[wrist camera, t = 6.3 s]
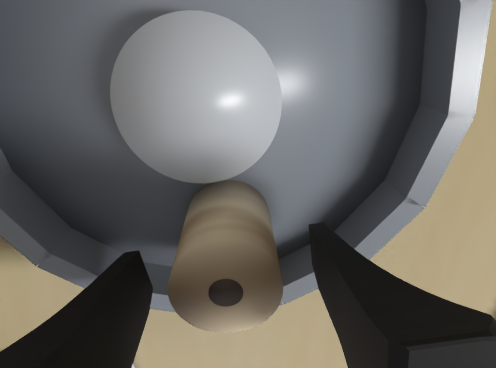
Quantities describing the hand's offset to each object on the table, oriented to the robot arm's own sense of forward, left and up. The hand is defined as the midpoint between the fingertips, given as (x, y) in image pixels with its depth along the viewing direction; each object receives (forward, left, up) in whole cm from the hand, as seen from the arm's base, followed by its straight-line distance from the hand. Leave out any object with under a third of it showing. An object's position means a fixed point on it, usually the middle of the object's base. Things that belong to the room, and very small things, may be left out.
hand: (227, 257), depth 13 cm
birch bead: (0, 0, -3) cm, 3 cm away
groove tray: (+6, 0, -3) cm, 7 cm away
